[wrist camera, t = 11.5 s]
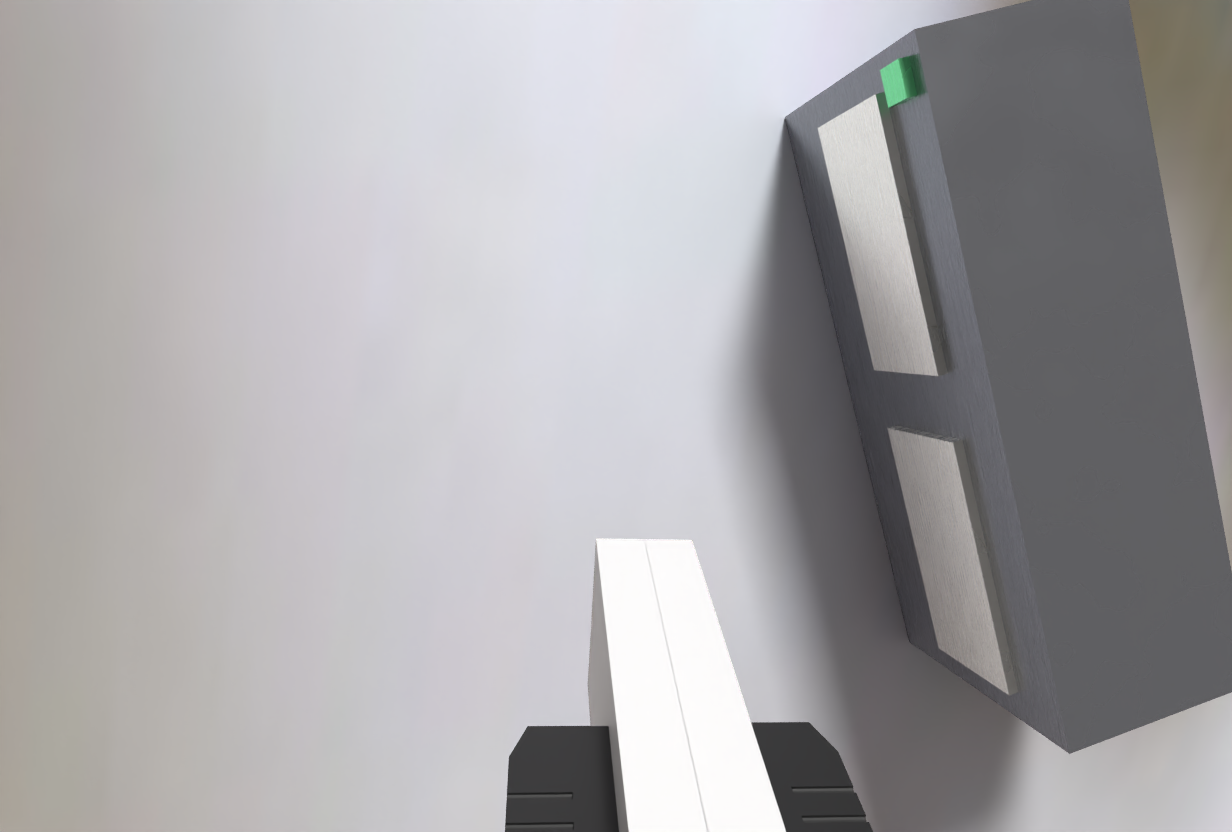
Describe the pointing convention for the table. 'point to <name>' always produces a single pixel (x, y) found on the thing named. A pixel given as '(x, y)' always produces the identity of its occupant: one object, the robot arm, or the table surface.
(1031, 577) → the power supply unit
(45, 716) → the table surface
